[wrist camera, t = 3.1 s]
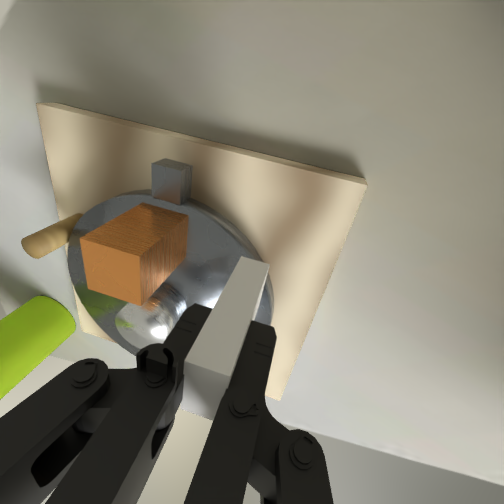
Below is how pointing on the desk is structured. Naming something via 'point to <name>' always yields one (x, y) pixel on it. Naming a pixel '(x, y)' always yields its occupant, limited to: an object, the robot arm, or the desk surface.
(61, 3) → the desk surface
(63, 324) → the soap dispenser
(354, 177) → the post base
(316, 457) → the robot arm
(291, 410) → the desk surface
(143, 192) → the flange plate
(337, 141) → the desk surface
